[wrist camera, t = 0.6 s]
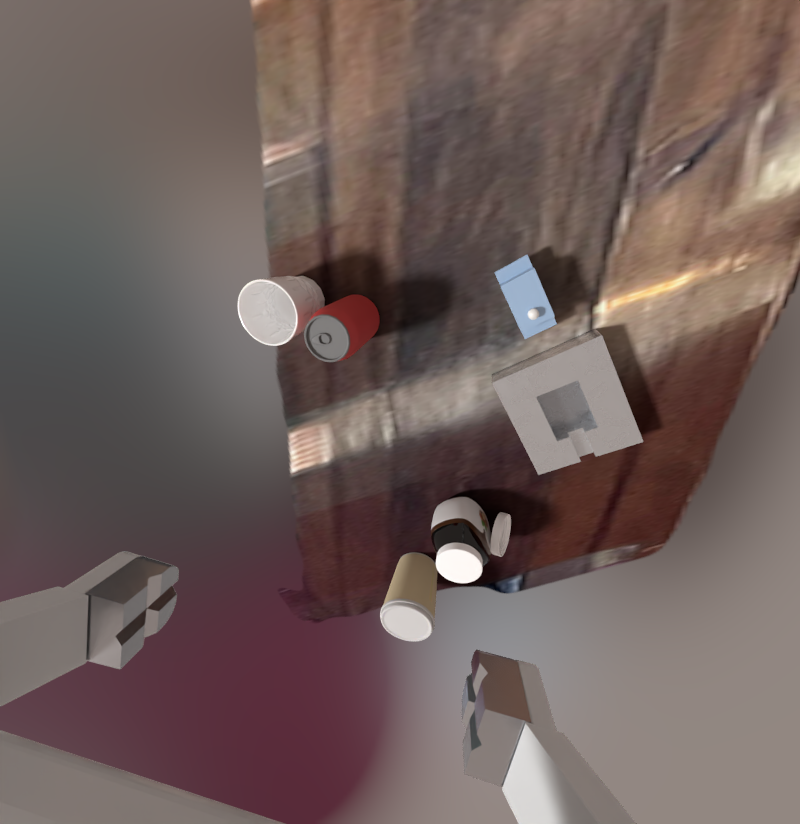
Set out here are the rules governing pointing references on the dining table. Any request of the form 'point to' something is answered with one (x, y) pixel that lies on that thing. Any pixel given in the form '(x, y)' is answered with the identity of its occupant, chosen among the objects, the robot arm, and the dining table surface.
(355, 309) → the beer can
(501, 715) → the robot arm
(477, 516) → the spread jar
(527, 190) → the dining table surface
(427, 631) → the coffee cup
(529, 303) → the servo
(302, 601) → the dining table surface
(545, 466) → the plate
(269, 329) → the white cup
